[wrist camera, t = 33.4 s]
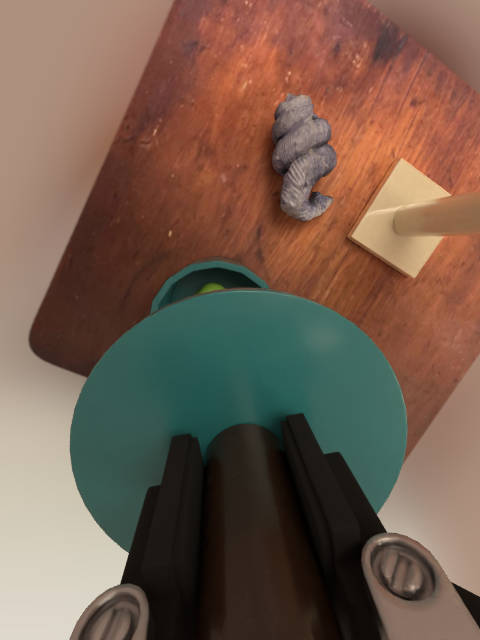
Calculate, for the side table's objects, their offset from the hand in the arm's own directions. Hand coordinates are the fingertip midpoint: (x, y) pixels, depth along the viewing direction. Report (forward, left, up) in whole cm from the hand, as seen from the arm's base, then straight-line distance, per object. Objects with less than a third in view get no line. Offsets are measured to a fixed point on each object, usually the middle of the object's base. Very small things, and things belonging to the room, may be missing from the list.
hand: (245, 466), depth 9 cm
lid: (0, 0, -1) cm, 1 cm away
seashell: (-12, +9, -22) cm, 27 cm away
